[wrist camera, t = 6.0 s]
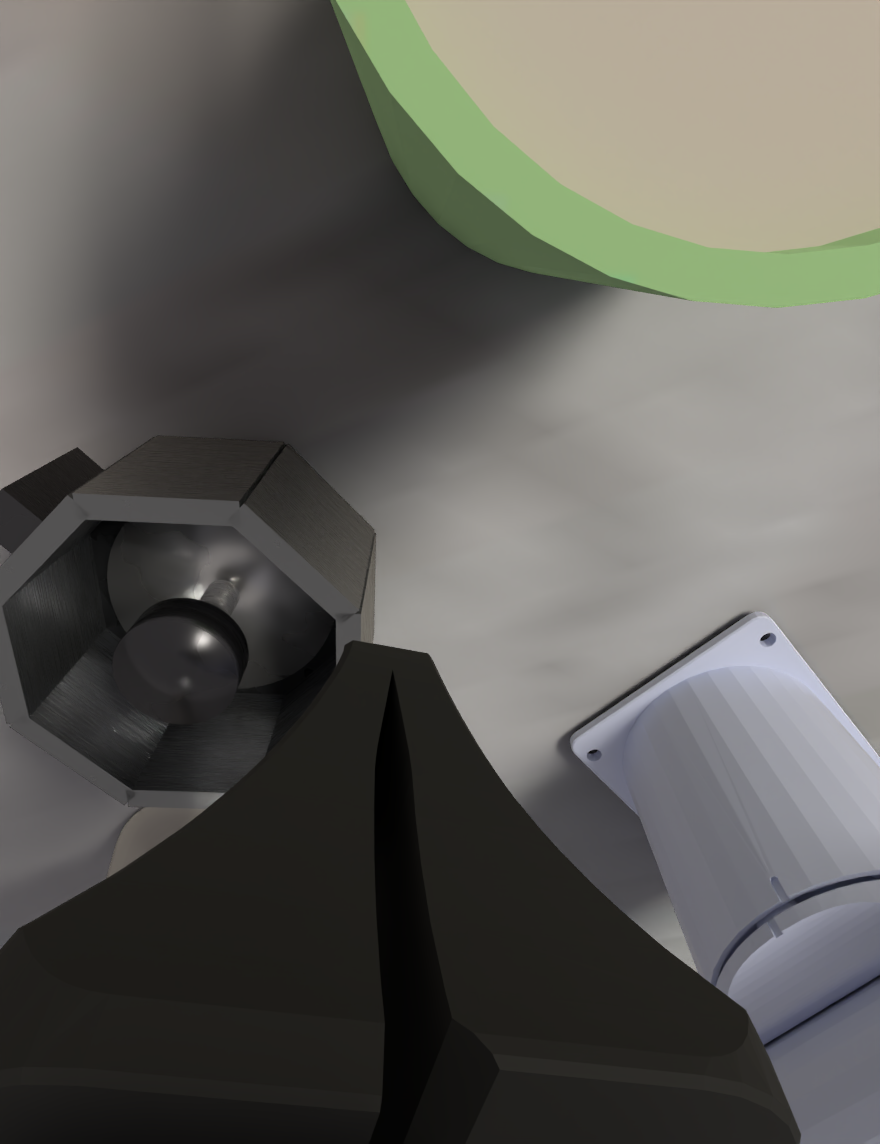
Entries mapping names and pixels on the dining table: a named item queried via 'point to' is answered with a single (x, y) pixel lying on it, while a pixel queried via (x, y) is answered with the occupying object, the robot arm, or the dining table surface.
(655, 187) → the mug
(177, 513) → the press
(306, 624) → the plunger
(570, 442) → the dining table surface
